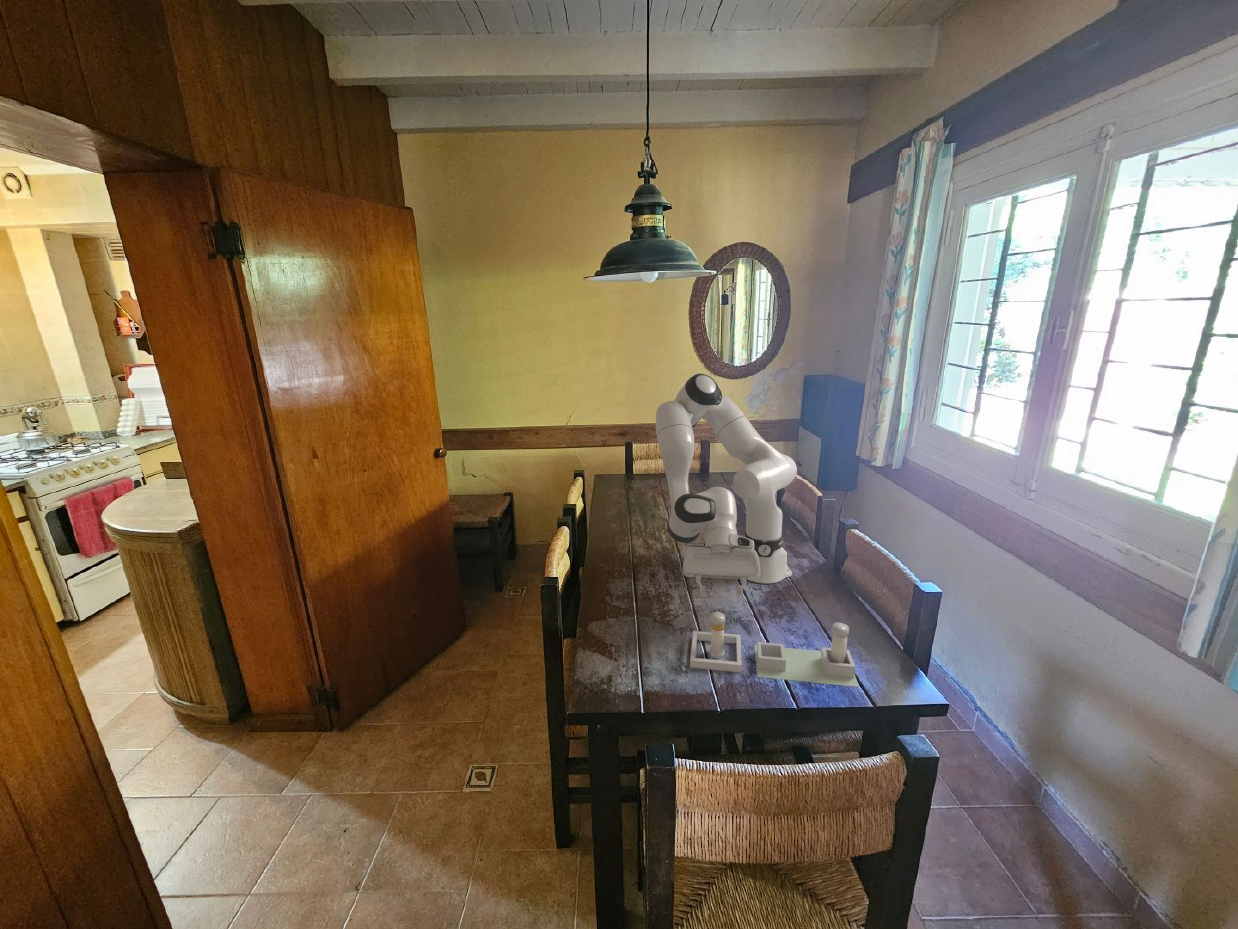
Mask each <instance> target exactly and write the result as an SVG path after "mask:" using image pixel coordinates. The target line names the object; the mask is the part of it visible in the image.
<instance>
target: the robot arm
mask: <svg viewBox="0 0 1238 929" xmlns="http://www.w3.org/2000/svg"><path fill="white" fill-rule="evenodd" d="M655 414H656V415H655V432H656V438H657V440H656V441H657V443H658V448H659V452H660V457H661V460H662V463H663V464H662V465H663V468H664V472H665V473H664V474H665V476H666V484H667V490H668V498H669V499H668V500H669V506H670V507H669V508H670V513H669V517H668V519H667V522H666V523H667V524H666V529H667V533H668V534H669V536H670V537H671V538H672V540H675V541H676V542H679V543H681V544H682V543H683V544H685V545H683V547H682V552H681V554H682V557H683V564H682V574H683V576H685V577H687V578H688V577H689V578H695V581H696V584H697V585H698V587H699V594H702V595H706V589H707V588H706V585H703V584H702V578H711V579H727V580H728V579H729V580H731V579H732V580H740V583H741V585H740V586H739V587H738V586H737V587H736V596H739V597H740V596H741V597H742V596H743V595H744V594H743V593H744V592H743V591H744V590H743V589H744V588H745V586H746V585H747V580H748V581H750V582H752V583H753V582H754V583H757V584H775V583H776V584H777V583H779V582H781V581H783V580H784V579H785V578H789V577H792V576H793V571H792V570H791V569H790V567H789V566H788V560H787V559H788V553H787V551H786V548H783V543H784V535H783V533H782V530H783V511H782V509H781V508H780V507H779V506H778V505H777V501H776V493H777V491H779V490H781V489H784V488H786V487H787V486H789V485H791V483H792V482H793V481H794V480H795V478H796V477H797V474H798V469H797V463H796V462H795V461H794V459H793V458H792V457H790V456H789V455H786V454H784V453H781V452H780V451H778V450H777V449H776V448H774V447H773V446H772V445H770V444H769V442H767V441H766V440H765V439H764V438H763V437H762V436H761V435H760V434H759V433H758V431H757V430H756V429H755V427H754V426H753V425H752V423H751V422H750V420H749V418H748V417H747V416H746V415H745V414H744V412H743V411H742V410H741V408H740V407H738V405H737V404H736V403H735V402H734V401H733V400H732V399H730V398H729V397H728V396H726V395H723V394H722V391H721V388H720V387H719V385H718V383H717V382H716V381H715V380H714V378H713V377H712V376H710V375H708V374H705V373H696V374H693V375H692V376H691V377H689V378H688V379H687V380H686V381H685V384H684V385H683V386H682V387H681V388H680V390H679V391H678V392H677V393H676V396H675V398H674V399H673V400H668V401H665V402H663V403H662V404H660V405H659V406H658V407H657V410H656V412H655ZM702 419H703V420H704V421H706V422H707V423H708V424H709V425H710V428H711V429H712V431H713V433H714V434H715V436H716V437H717V439H718V440H719V442H720V443H721V445H722V446H723V447H724V449H725V451H726V452H727V453H728V455H729V456H731V457H732V458H734V459H737V460H739V461H741V462H742V463H743V464H745V465H744V466H743V467H742V468H740V469H739V470H738V471H736V472H735V474H734V476H733V479H732V485H733V488H734V491H735V492H736V494H737V495H738V496H739V497H740V498H741V499H742V500H743V504H744V507H745V514H746V515H745V516H746V517H745V519H746V521H745V531H744V535H743V536H742V535H738V531H737V520H738V513H737V512H738V511H737V510H738V509H737V502H736V498H735V495H734V494H733V492H732V491H731V490H729V489H727V487H722V486H712V487H710V488H709V489H706V490H704V491H702V492H698V493H690V487H689V473H690V468H691V464H692V462H693V458H694V455H695V435H694V430H693V428H695V426H697V424H698V423H699V422H700V421H702ZM701 531H704V542H695V540H697V539H699V537H700V534H701Z"/></svg>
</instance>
